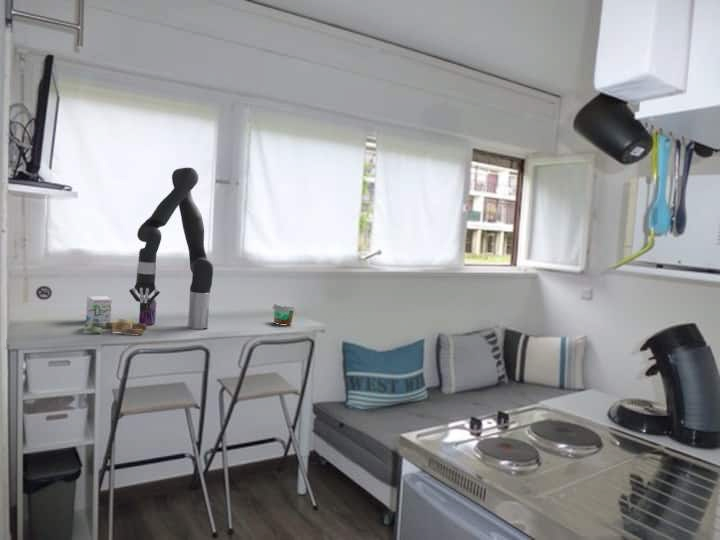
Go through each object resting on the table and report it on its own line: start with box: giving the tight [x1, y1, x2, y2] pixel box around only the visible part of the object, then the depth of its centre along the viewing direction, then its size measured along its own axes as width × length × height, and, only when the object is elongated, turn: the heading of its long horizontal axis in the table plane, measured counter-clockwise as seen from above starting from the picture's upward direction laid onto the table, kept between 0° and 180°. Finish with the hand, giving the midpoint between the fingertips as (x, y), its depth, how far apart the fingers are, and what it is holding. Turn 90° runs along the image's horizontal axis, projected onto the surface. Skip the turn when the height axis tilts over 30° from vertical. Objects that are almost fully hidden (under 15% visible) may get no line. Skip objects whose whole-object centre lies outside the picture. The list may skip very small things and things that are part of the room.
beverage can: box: [138, 297, 157, 326], centre depth 248 cm, size 7×7×12 cm
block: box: [111, 318, 134, 333], centre depth 230 cm, size 7×7×5 cm
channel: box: [83, 319, 148, 336], centre depth 229 cm, size 23×12×4 cm, turn 105°
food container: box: [272, 302, 296, 324], centre depth 276 cm, size 12×6×10 cm, turn 68°
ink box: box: [85, 295, 113, 323], centre depth 242 cm, size 8×8×12 cm
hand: (143, 311), depth 231 cm, fingers closed
